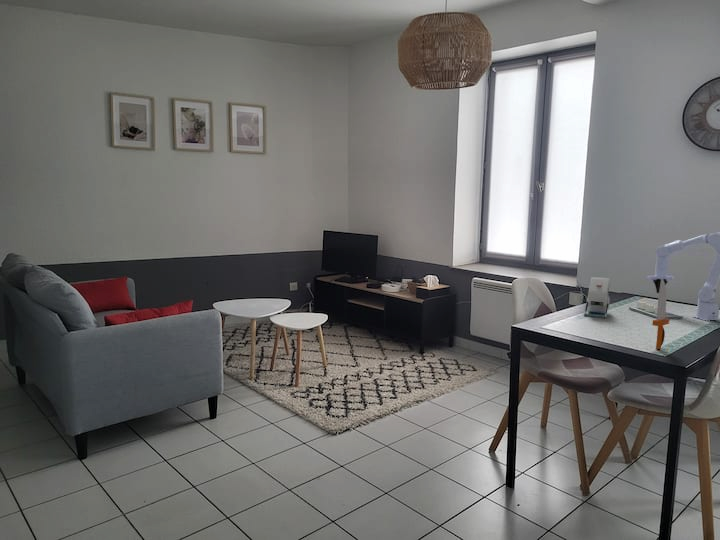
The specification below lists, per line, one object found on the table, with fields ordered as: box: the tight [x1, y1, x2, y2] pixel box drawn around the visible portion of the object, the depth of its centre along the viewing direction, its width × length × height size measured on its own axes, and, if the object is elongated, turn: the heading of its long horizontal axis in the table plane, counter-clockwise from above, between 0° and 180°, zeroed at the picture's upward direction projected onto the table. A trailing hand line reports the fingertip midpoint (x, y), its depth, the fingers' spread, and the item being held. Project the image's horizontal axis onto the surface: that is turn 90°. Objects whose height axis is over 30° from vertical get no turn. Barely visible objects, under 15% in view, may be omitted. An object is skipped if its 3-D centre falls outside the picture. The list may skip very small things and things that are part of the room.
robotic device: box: [583, 276, 611, 319], centre depth 288 cm, size 10×21×20 cm
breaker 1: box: [636, 300, 647, 309], centre depth 298 cm, size 4×2×4 cm
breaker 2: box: [645, 303, 655, 312], centre depth 291 cm, size 4×2×4 cm
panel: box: [628, 306, 684, 320], centre depth 292 cm, size 23×14×1 cm, turn 9°
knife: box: [651, 277, 670, 350], centre depth 223 cm, size 8×2×30 cm, turn 126°
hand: (659, 293), depth 297 cm, fingers closed
